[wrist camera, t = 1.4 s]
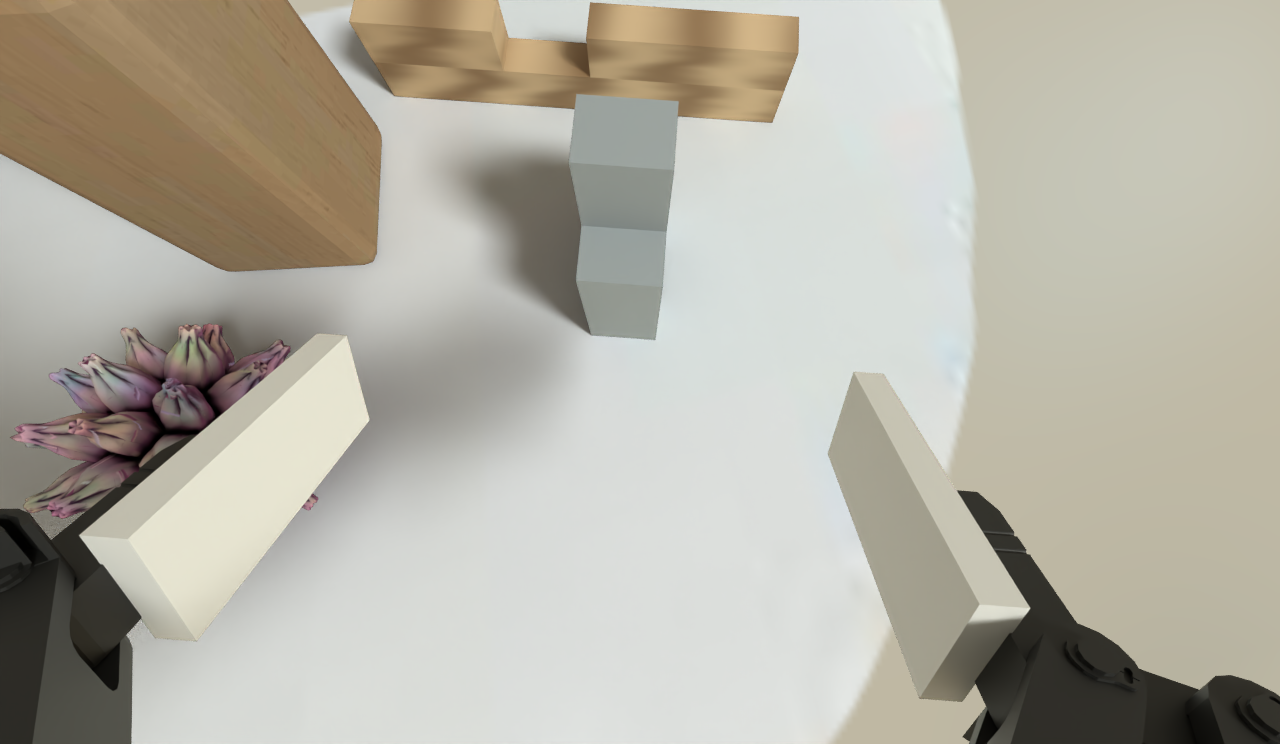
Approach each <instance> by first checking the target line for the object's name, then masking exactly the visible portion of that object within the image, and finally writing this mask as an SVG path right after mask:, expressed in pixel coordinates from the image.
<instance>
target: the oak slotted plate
mask: <svg viewBox="0 0 1280 744" xmlns="http://www.w3.org/2000/svg"><path fill="white" fill-rule="evenodd" d="M349 22H350V24H351V26H352V27H353V29H354V31H355V32H356V34H357V36H358V37H359V39H360V40H361V42H362V44H363V45H364V47H365V49H366V50H367V52H368V53H369V55H370V57H371V58H372V60H373V62H374V63H375V65H376V66H377V68H378V70H379V71H380V73H381V75H382V76H383V78H384V80H385V81H386V83H387V84H388V86H389V88H390V89H391V91H392V93H393V94H394V96H402V97H416V98H430V99H444V100H458V101H472V102H487V103H501V104H515V105H529V106H543V107H557V108H572V109H575V103H576V94H583V95H597V96H611V97H625V98H639V99H654V100H668V101H679V104H678V116H685V117H699V118H713V119H727V120H741V121H756V122H770V123H772V122H773V119H774V117H775V114H776V111H777V109H778V106H779V103H780V101H781V98H782V95H783V93H784V90H785V87H786V85H787V82H788V79H789V77H790V74H791V72H792V69H793V66H794V64H795V61H796V58H797V56H798V44H799V17H792V16H778V15H763V14H749V13H735V12H720V11H706V10H691V9H677V8H663V7H648V6H634V5H619V4H605V3H591V2H590V9H589V18H588V27H587V36H586V41H587V43H574V42H560V41H546V40H531V39H517V38H508V34H507V31H506V27H505V23H504V20H503V16H502V13H501V9H500V6H499V2H498V0H354V2H353V7H352V11H351V16H350V20H349Z"/></svg>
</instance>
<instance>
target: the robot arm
mask: <svg viewBox="0 0 1280 744" xmlns="http://www.w3.org/2000/svg"><path fill="white" fill-rule="evenodd" d="M369 420H370V419H369V416H368V412H367V408H366V405H365V401H364V397H363V394H362V390H361V386H360V382H359V379H358V375H357V371H356V368H355V364H354V360H353V357H352V353H351V349H350V346H349V342H348V338H347V335H333V334H319V333H317V334H316V335H315V336H314V337H313V338H312V339H310V340H309V341H308V342H307V343H306V344H304V345H303V346H302V347H301V348H300V349H299V350H297V351H296V352H295V353H294V354H293V355H291V356H290V357H289V358H288V359H287V360H286V361H284V362H283V363H282V364H281V365H280V366H278V367H277V368H276V369H275V370H274V371H273V372H271V373H270V374H269V375H268V376H267V377H265V378H264V379H263V380H262V381H261V382H260V383H258V384H257V385H256V386H255V387H254V388H252V389H251V390H250V391H249V392H248V393H247V394H245V395H244V396H243V397H242V398H241V399H239V400H238V401H237V402H236V403H235V404H234V405H232V406H231V407H230V408H229V409H228V410H226V411H225V412H224V413H223V414H222V415H221V416H219V417H218V418H217V419H216V420H215V421H213V422H212V423H211V424H210V425H209V426H208V427H206V428H205V429H204V430H203V431H202V432H200V433H199V434H198V435H197V436H196V435H189V436H187V437H186V438H184V439H182V440H180V441H178V442H176V443H174V444H172V445H170V446H168V447H166V448H165V449H163V450H161V451H160V452H158V453H157V454H156V455H155V456H154V457H152V458H151V459H150V460H149V461H147V462H146V463H145V464H144V465H143V466H141V467H140V468H139V472H134V473H133V474H132V475H130V476H129V477H128V478H127V479H125V480H124V481H123V482H122V483H121V486H120V487H116V488H114V489H113V490H112V491H111V492H109V493H108V494H107V495H106V496H105V497H103V498H102V499H101V500H100V501H98V502H97V503H96V504H95V505H94V506H92V507H91V508H90V509H89V510H87V511H86V512H85V513H84V514H83V515H81V516H80V517H79V518H78V519H76V520H75V521H74V522H73V523H71V524H70V525H69V526H68V527H67V528H65V529H64V530H63V531H62V532H60V533H59V534H58V535H57V536H56V537H54V538H53V539H52V540H50V539H49V537H48V536H47V535H46V534H45V532H44V531H43V530H42V529H41V527H40V526H39V525H38V524H37V522H36V521H35V520H34V519H33V517H32V516H31V515H30V513H27V512H25V511H22V510H20V509H0V744H131V728H132V654H133V648H132V646H131V643H130V640H129V639H128V637H127V636H126V634H127V633H128V632H129V631H130V630H131V629H132V628H133V627H134V626H135V624H136V623H137V622H138V621H139V620H140V619H141V620H142V621H143V622H144V624H145V625H146V626H147V628H148V629H149V630H150V632H151V633H152V634H153V636H154V637H155V638H160V639H172V640H185V641H197V640H198V639H199V638H200V637H201V635H202V634H203V633H204V631H205V630H206V629H207V628H208V626H209V625H210V624H211V623H212V621H213V620H214V619H215V617H216V616H217V615H218V614H219V612H220V611H221V610H222V608H223V607H224V606H225V605H226V603H227V602H228V601H229V599H230V598H231V597H232V596H233V594H234V593H235V592H236V591H237V589H238V588H239V587H240V585H241V584H242V583H243V582H244V580H245V579H246V578H247V576H248V575H249V574H250V573H251V571H252V570H253V569H254V567H255V566H256V565H257V564H258V562H259V561H260V560H261V558H262V557H263V556H264V555H265V553H266V552H267V551H268V550H269V548H270V547H271V546H272V544H273V543H274V542H275V541H276V539H277V538H278V537H279V535H280V534H281V533H282V532H283V530H284V529H285V528H286V526H287V525H288V524H289V523H290V521H291V520H292V519H293V518H294V516H295V515H296V514H297V512H298V511H299V510H300V509H301V507H302V506H303V505H304V503H305V502H306V501H307V500H308V498H309V497H310V496H311V494H312V493H313V492H314V491H315V489H316V488H317V487H318V486H319V484H320V483H321V482H322V480H323V479H324V478H325V477H326V475H327V474H328V473H329V471H330V470H331V469H332V468H333V466H334V465H335V464H336V462H337V461H338V460H339V459H340V457H341V456H342V455H343V454H344V452H345V451H346V450H347V448H348V447H349V446H350V445H351V443H352V442H353V441H354V439H355V438H356V437H357V436H358V434H359V433H360V432H361V430H362V429H363V428H364V427H365V425H366V424H367V423H368V422H369ZM828 456H829V458H830V461H831V464H832V466H833V469H834V472H835V475H836V477H837V480H838V483H839V485H840V488H841V491H842V493H843V496H844V499H845V501H846V504H847V507H848V509H849V512H850V515H851V517H852V520H853V523H854V525H855V528H856V531H857V533H858V536H859V539H860V541H861V544H862V547H863V549H864V552H865V555H866V557H867V560H868V563H869V565H870V568H871V571H872V573H873V576H874V579H875V581H876V584H877V587H878V589H879V592H880V595H881V598H882V600H883V603H884V606H885V608H886V611H887V614H888V616H889V619H890V622H891V624H892V627H893V630H894V632H895V635H896V638H897V640H898V643H899V646H900V648H901V651H902V654H903V656H904V659H905V662H906V664H907V667H908V670H909V672H910V675H911V677H912V680H913V683H914V686H915V688H916V691H917V694H918V696H919V698H920V699H933V700H945V701H957V702H962V701H963V700H964V699H965V697H966V696H967V694H968V693H969V692H970V690H971V689H972V688H973V686H974V685H975V684H976V685H977V688H978V690H979V692H980V694H981V696H982V698H983V700H984V703H985V704H986V707H985V709H984V710H983V711H982V713H981V714H980V715H979V716H978V718H977V719H976V720H975V721H974V723H973V724H972V725H971V727H970V728H969V729H968V730H967V732H966V733H965V734H964V736H963V737H964V738H965V739H966V740H968V741H970V742H969V744H1280V696H1278V695H1277V694H1276V693H1274V692H1272V691H1270V690H1268V689H1266V688H1264V687H1262V686H1260V685H1258V684H1256V683H1254V682H1252V681H1249V680H1245V679H1242V678H1239V677H1235V676H1231V675H1226V676H1215V677H1214V678H1213V679H1212V680H1210V681H1209V682H1208V683H1207V684H1206V685H1205V686H1203V687H1202V688H1201V689H1200V690H1198V689H1195V688H1193V687H1190V686H1187V685H1184V684H1181V683H1178V682H1175V681H1172V680H1169V679H1166V678H1164V677H1161V676H1158V675H1155V674H1152V673H1149V672H1146V671H1143V670H1141V669H1139V668H1138V667H1137V665H1136V664H1135V662H1134V661H1133V660H1132V659H1131V658H1130V657H1129V656H1128V655H1127V654H1126V653H1125V652H1124V651H1123V650H1122V649H1121V648H1120V647H1119V646H1118V645H1117V644H1115V643H1114V642H1112V641H1111V640H1109V639H1108V638H1106V637H1105V636H1103V635H1102V634H1100V633H1099V632H1097V631H1094V630H1092V629H1090V628H1087V627H1085V626H1083V625H1080V624H1077V622H1076V621H1075V620H1074V618H1073V617H1072V615H1071V614H1070V613H1069V611H1068V610H1067V609H1066V607H1065V605H1064V604H1063V602H1062V601H1061V599H1060V598H1059V597H1058V595H1057V594H1056V592H1055V591H1054V589H1053V588H1052V586H1051V585H1050V584H1049V582H1048V581H1047V579H1046V578H1045V576H1044V575H1043V573H1042V572H1041V570H1040V569H1039V568H1038V566H1037V565H1036V563H1035V562H1034V560H1033V559H1032V557H1031V556H1030V555H1028V554H1026V549H1025V547H1024V546H1023V545H1022V543H1021V541H1020V540H1019V539H1018V537H1015V536H1014V531H1013V530H1012V529H1011V527H1010V525H1009V524H1008V523H1007V521H1006V520H1005V518H1004V517H1003V515H1002V514H1001V512H1000V511H999V510H998V509H997V508H995V507H994V506H993V505H992V504H991V503H989V502H988V501H987V500H986V499H985V498H984V497H982V496H981V495H980V494H979V493H978V492H970V491H957V490H956V489H955V487H954V486H953V484H952V482H951V481H950V479H949V478H948V476H947V474H946V473H945V471H944V470H943V468H942V466H941V465H940V463H939V462H938V460H937V458H936V457H935V455H934V454H933V452H932V450H931V449H930V447H929V446H928V444H927V442H926V441H925V439H924V438H923V436H922V434H921V433H920V431H919V430H918V428H917V426H916V425H915V423H914V422H913V420H912V418H911V417H910V415H909V414H908V412H907V410H906V409H905V407H904V406H903V404H902V402H901V401H900V399H899V398H898V396H897V395H896V393H895V391H894V390H893V388H892V387H891V385H890V383H889V382H888V380H887V379H886V377H885V375H884V374H878V373H864V372H853V375H852V379H851V382H850V385H849V388H848V391H847V394H846V398H845V401H844V404H843V407H842V410H841V413H840V416H839V420H838V423H837V426H836V429H835V432H834V435H833V439H832V442H831V445H830V448H829V451H828Z"/></svg>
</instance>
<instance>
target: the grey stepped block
mask: <svg viewBox="0 0 1280 744" xmlns="http://www.w3.org/2000/svg"><path fill="white" fill-rule="evenodd" d="M678 104H679V101H668V100H654V99H639V98H625V97H611V96H597V95H583V94H576V103H575V111H574V120H573V129H572V138H571V147H570V156H569V166H570V171H571V176H572V181H573V186H574V191H575V196H576V201H577V206H578V211H579V216H580V221H581V235H580V245H579V255H578V264H577V274H576V283H577V287H578V290H579V294H580V297H581V301H582V304H583V308H584V311H585V315H586V318H587V322H588V325H589V329H590V332H591V335H596V336H610V337H623V338H637V339H651V340H655V338H656V331H657V324H658V317H659V310H660V303H661V295H662V288H663V275H664V260H665V245H666V231H667V223H668V215H669V207H670V199H671V191H672V183H673V175H674V164H675V149H676V134H677V119H678Z"/></svg>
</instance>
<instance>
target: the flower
mask: <svg viewBox="0 0 1280 744" xmlns="http://www.w3.org/2000/svg"><path fill="white" fill-rule="evenodd" d="M121 335H122V337H123V339H124V341H125V343H126V359H125V360H126V364H127V365H124V364H117V363H112V362H108V361H106V360H104V359H103V358H101V357H99V356H98V355H96V354H94V353H92V354H91V356H88V357H84V358H83V361H82V362H78V364H79V365H80V366H81V367H82V368H83V369H84V370H85V371H86V372H88V373H89V375H85V374H79V373H76V372H74V371H72V370H69V369H67V368H64V369H62V368H61V369H60V372H57V373H51V374H49V378H50V379H51V380H53V381H54V382H56V383H58V384H60V385H62V386H63V387H64V388H65V389H66V390H67V391H68V392H69V394H70V396H71V397H72V399H73V400H74V402H75V403H76V404H77V405H78V406H79V407H80V408H81V409H82V413H80V414H75V415H71V416H67V417H64V418H61V419H58V420H55V421H52V422H48V423H43V424H21V425H19V426H17V427H16V428H15V430H16V431H17V432H18V433H19V434H17V435H14V436H12V437H10V438H12V439H13V440H16V441H20V442H24V443H25V444H26V445H25V446H26V447H33V448H45V449H49V450H51V451H53V452H55V453H57V454H59V455H62V456H64V457H67V458H70V459H73V460H81V461H87V462H84V463H82V464H80V465H78V466H76V467H73V468H71V469H69V470H68V471H67V472H65V473H64V474H63V475H61V476H60V477H59V478H58V479H57V480H56V481H54V482H53V483H52V484H51V485H50V486H49V487H48V488H47V489H46V490H44V491H43V492H41V493H38V494H36V495H34V496H31V497H29V498H27V499H25V501H27V502H26V503H25V504H24V505H23V507H24V509H26V511H27V512H29V513H35V512H38V511H41V510H45V509H48V510H50V511H51V512H52V516H57V517H60V518H62V519H63V518H66V517H69V516H71V515H74V514H76V513H79V512H84V511H87V510H89V509H90V508H91V507H92V506H94V505H95V504H96V503H97V502H98V501H100V500H101V499H102V498H103V497H105V496H106V495H107V494H108V493H109V492H111V491H112V490H113V489H114V488H116V487H120V486H121V483H122V482H123V481H124V480H125V479H127V478H128V477H129V476H130V475H132V474H133V473H134V472H139V468H140V467H141V466H143V465H144V464H145V463H146V462H147V461H149V460H150V459H151V458H152V457H154V456H155V455H156V454H157V453H158V452H160V451H161V450H163V449H165V448H166V447H168V446H170V445H172V444H174V443H176V442H178V441H180V440H182V439H184V438H186V437H187V436H189V435H196V436H197V435H198V434H199V433H200V432H202V431H203V430H204V429H205V428H206V427H208V426H209V425H210V424H211V423H212V422H213V421H215V420H216V419H217V418H218V417H219V416H221V415H222V414H223V413H224V412H225V411H226V410H228V409H229V408H230V407H231V406H232V405H234V404H235V403H236V402H237V401H238V400H239V399H241V398H242V397H243V396H244V395H245V394H247V393H248V392H249V391H250V390H251V389H252V388H254V387H255V386H256V385H257V384H258V383H260V382H261V381H262V380H263V379H264V378H265V377H267V376H268V375H269V374H270V373H271V372H273V371H274V370H275V369H276V368H277V367H278V366H280V365H281V364H282V363H283V362H284V360H285V358H286V356H287V355H288V353H289V352H290V350H291V348H290V346H287V345H283V341H282V340H277V341H275V342H274V343H273V344H272V345H271V346H270V347H269V348H268V349H266V350H264V351H261V352H258V353H255V354H252V355H249V356H246V357H244V358H242V359H240V360H239V361H238V362H237V363H236V364H234V356H233V354H232V352H231V350H230V348H229V346H228V345H227V344H226V342H225V341H224V339H223V336H222V326H219V325H218V324H216V325H212V324H210V323H209V324H207V325H206V324H205V325H204V326H203V330H202V328H201V327H200V326H198V325H196V324H195V325H193V326H191V325H188V324H186V325H184V326H179V328H178V341H177V342H176V344H175V345H174V346H173V348H172V349H171V350H170V351H169V353H166V352H165V351H163V350H162V349H160V348H157V347H155V346H154V345H152V344H150V343H149V342H147V341H146V340H145V339H144V338H143V336H142V335H141V334H140V333H139V331H138V330H137V329H136V328H133V329H128V328H122V329H121ZM317 500H318V497H316V496H315V495H314V494H311V496H310V497H309V498H308V500H307V501H306V502H305V503H304V505H303V506H302V508H304V509H306V510H310V509H311V507H313V504H314V503H316V502H317Z"/></svg>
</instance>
